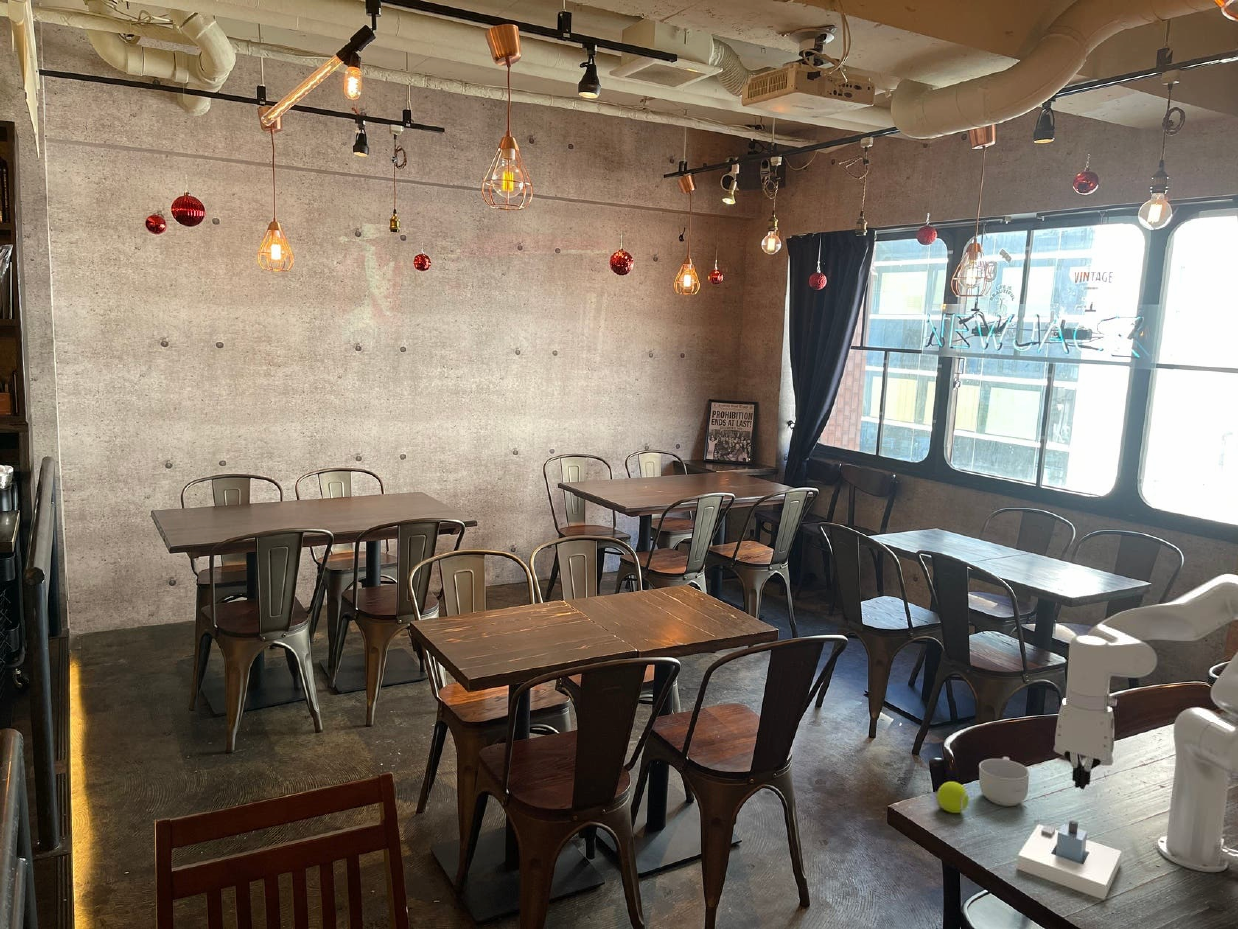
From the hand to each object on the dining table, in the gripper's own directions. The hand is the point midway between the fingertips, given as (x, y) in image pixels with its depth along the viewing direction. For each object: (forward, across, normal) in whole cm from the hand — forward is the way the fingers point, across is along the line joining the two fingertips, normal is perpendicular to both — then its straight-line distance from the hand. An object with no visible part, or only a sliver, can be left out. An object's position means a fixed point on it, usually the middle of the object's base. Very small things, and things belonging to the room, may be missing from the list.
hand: (1080, 785), depth 185 cm
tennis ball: (+17, +27, -6) cm, 32 cm away
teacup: (+18, +20, -21) cm, 34 cm away
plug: (+17, +1, +1) cm, 17 cm away
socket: (+17, +1, +1) cm, 17 cm away
